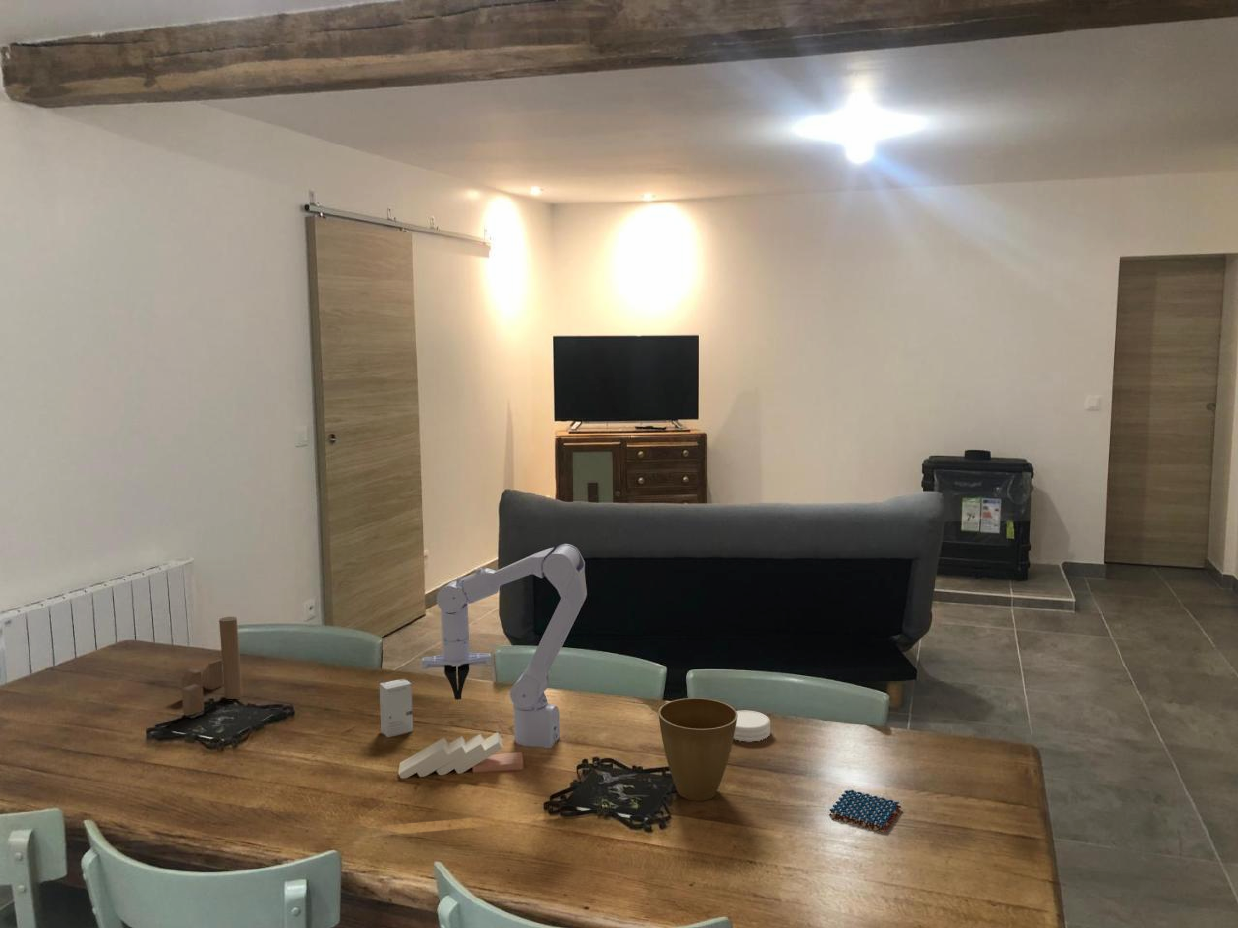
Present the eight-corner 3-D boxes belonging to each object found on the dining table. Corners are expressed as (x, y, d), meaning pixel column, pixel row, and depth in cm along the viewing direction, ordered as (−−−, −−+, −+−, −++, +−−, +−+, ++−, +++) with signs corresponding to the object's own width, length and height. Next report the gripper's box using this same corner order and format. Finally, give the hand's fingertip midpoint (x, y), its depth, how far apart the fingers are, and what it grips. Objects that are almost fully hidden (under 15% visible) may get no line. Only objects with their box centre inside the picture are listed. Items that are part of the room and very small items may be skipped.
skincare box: (387, 743, 201) (385, 689, 200) (380, 735, 205) (378, 683, 203) (414, 736, 205) (412, 683, 203) (407, 729, 208) (405, 677, 207)
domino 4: (458, 763, 189) (501, 738, 190) (458, 775, 184) (502, 748, 185) (454, 757, 189) (497, 731, 189) (454, 768, 184) (498, 742, 185)
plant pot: (685, 818, 168) (684, 734, 166) (645, 784, 181) (644, 706, 179) (752, 799, 175) (753, 718, 173) (709, 767, 188) (709, 691, 186)
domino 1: (404, 768, 187) (448, 743, 188) (402, 780, 182) (447, 754, 183) (400, 762, 187) (444, 737, 188) (398, 773, 182) (443, 748, 183)
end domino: (472, 763, 189) (522, 759, 191) (472, 774, 184) (523, 770, 186) (472, 755, 189) (521, 751, 191) (472, 766, 184) (523, 762, 186)
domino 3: (441, 765, 189) (484, 739, 189) (440, 776, 184) (484, 750, 184) (437, 759, 188) (480, 733, 189) (436, 770, 183) (480, 743, 184)
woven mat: (885, 836, 162) (886, 825, 162) (827, 820, 168) (827, 810, 167) (903, 810, 171) (903, 800, 170) (846, 796, 176) (847, 786, 176)
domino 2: (422, 767, 188) (465, 742, 189) (420, 778, 183) (465, 752, 184) (418, 760, 188) (461, 735, 188) (416, 772, 183) (461, 746, 183)
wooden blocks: (207, 680, 240) (201, 605, 237) (255, 695, 229) (249, 617, 227) (144, 702, 226) (137, 623, 223) (191, 719, 215) (185, 636, 213)
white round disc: (719, 739, 201) (719, 723, 201) (730, 721, 210) (730, 706, 210) (764, 746, 198) (765, 730, 197) (774, 727, 207) (774, 712, 206)
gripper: (420, 645, 195) (422, 707, 197) (489, 641, 197) (492, 702, 199) (422, 634, 202) (424, 694, 204) (489, 630, 204) (491, 690, 206)
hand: (458, 697), depth 202 cm, fingers closed
